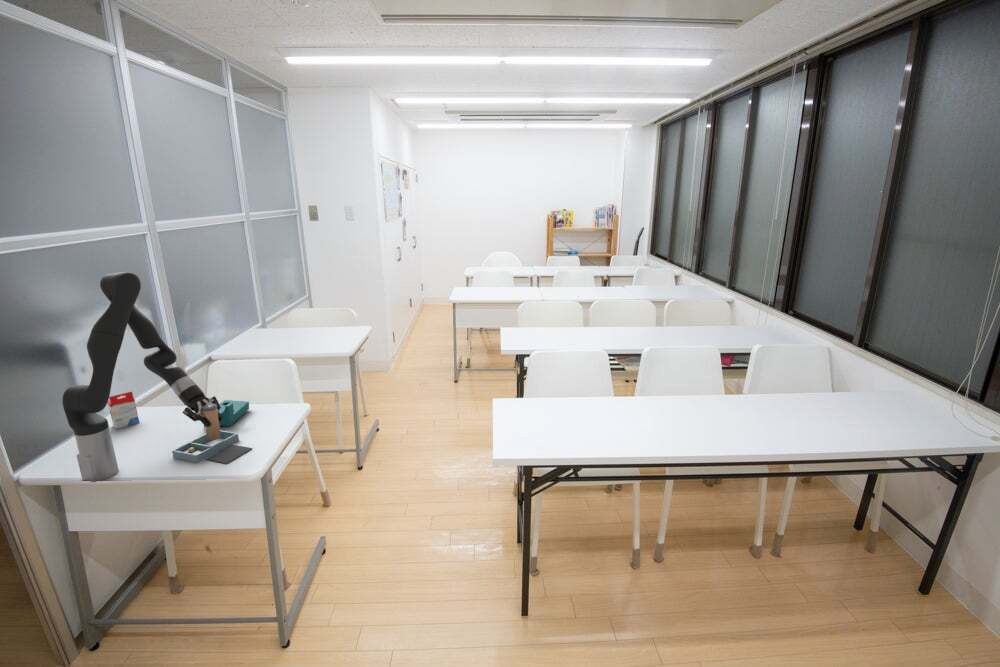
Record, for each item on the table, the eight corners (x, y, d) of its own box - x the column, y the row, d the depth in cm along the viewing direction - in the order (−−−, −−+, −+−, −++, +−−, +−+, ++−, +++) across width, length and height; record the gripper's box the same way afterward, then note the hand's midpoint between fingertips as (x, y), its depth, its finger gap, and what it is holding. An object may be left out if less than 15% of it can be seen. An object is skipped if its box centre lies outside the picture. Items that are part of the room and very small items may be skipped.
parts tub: (197, 462, 180) (196, 455, 179) (173, 457, 183) (171, 450, 183) (239, 440, 197) (237, 433, 197) (215, 435, 201) (214, 429, 200)
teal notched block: (230, 429, 209) (228, 406, 206) (203, 427, 208) (202, 404, 205) (249, 411, 226) (248, 390, 223) (225, 410, 225) (224, 388, 223)
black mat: (226, 464, 179) (226, 463, 179) (205, 460, 182) (205, 458, 182) (252, 449, 190) (252, 448, 190) (231, 445, 193) (231, 444, 193)
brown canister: (213, 440, 190) (208, 409, 187) (203, 438, 191) (198, 407, 188) (224, 435, 194) (219, 404, 191) (214, 433, 196) (209, 403, 193)
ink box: (136, 419, 216) (130, 388, 212) (139, 422, 213) (133, 391, 209) (112, 426, 210) (105, 394, 206) (115, 429, 207) (108, 397, 203)
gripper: (174, 391, 183) (204, 425, 183) (207, 379, 197) (234, 410, 196) (166, 402, 186) (195, 436, 186) (199, 390, 200) (226, 421, 199)
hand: (215, 422), depth 191 cm, fingers closed on brown canister, 4 cm apart
